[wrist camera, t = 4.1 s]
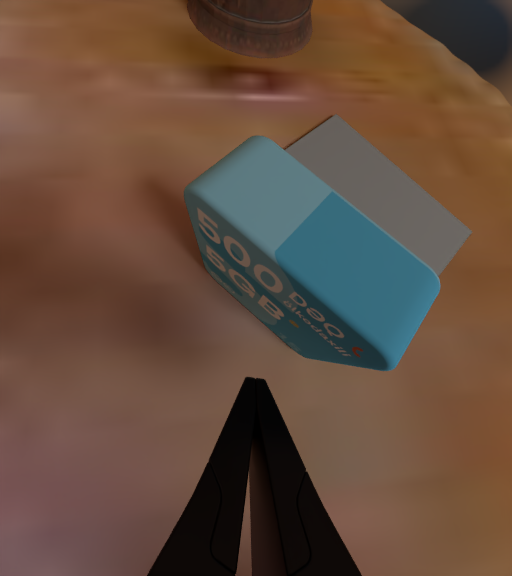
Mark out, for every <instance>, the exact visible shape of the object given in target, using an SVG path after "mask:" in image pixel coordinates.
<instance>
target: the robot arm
mask: <svg viewBox="0 0 512 576" xmlns="http://www.w3.org/2000/svg"><path fill="white" fill-rule="evenodd" d="M305 471H306V468H305V466H304V464H303V461H302V459H301V457H300V455H299V453H298V450H297V448H296V446H295V444H294V442H293V440H292V437H291V435H290V433H289V431H288V429H287V426H286V424H285V422H284V420H283V418H282V415H281V413H280V411H279V409H278V407H277V404H276V402H275V400H274V398H273V396H272V393H271V391H270V389H269V387H268V385H267V383H266V381H265V380H264V379H260V378H256V379H255V378H252V377H246V378H245V380H244V382H243V384H242V386H241V389H240V391H239V393H238V395H237V398H236V400H235V402H234V404H233V407H232V409H231V411H230V413H229V416H228V418H227V420H226V422H225V425H224V427H223V429H222V431H221V434H220V436H219V438H218V440H217V443H216V445H215V447H214V449H213V452H212V454H211V456H210V458H209V462H208V463H207V465H206V467H205V469H204V472H203V474H202V476H201V478H200V480H199V482H198V484H197V486H196V489H195V491H194V493H193V495H192V497H191V498H190V500H189V502H188V504H187V506H186V508H185V510H184V511H183V513H182V515H181V517H180V519H179V520H178V522H177V524H176V526H175V527H174V529H173V531H172V533H171V534H170V536H169V538H168V540H167V541H166V543H165V545H164V547H163V548H162V550H161V552H160V554H159V555H158V557H157V559H156V561H155V562H154V564H153V566H152V568H151V569H150V571H149V573H148V575H147V576H235V574H236V570H237V562H238V554H239V546H240V538H241V529H242V521H243V513H244V505H245V497H246V488H247V480H248V472H249V482H250V519H251V556H252V576H362V575H361V573H360V571H359V569H358V568H357V566H356V564H355V562H354V560H353V559H352V557H351V555H350V553H349V551H348V550H347V548H346V546H345V544H344V542H343V541H342V539H341V537H340V535H339V534H338V532H337V530H336V528H335V526H334V524H333V523H332V521H331V519H330V517H329V515H328V513H327V511H326V510H325V508H324V506H323V504H322V502H321V500H320V498H319V496H318V494H317V492H316V489H315V487H314V485H313V483H312V481H311V479H310V477H309V474H308V472H307V471H306V472H305Z"/></svg>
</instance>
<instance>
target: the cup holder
mask: <svg viewBox="0 0 512 576" xmlns="http://www.w3.org/2000/svg"><path fill="white" fill-rule="evenodd" d="M312 2H313V1H312V0H188V4H187V8H188V12H189V16H190V19H191V20H192V22H193V23H194V25H195V26H196V28H197V29H198V30H199V31H200V32H201V33H202V34H203V35H205V36H206V37H207V38H208V39H209V40H210V41H212V42H214V43H216V44H217V45H219V46H221V47H223V48H224V49H227V50H230V51H232V52H235V53H238V54H241V55H245V56H251V57H257V58H278V57H283V56H287V55H291V54H293V53H295V52H297V51H299V50H301V49H302V48H303V47H304V46H305V45H306V44H307V43H308V42H309V40H310V37H311V34H312V23H311V13H310V10H311V6H312Z"/></svg>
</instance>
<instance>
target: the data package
mask: <svg viewBox="0 0 512 576" xmlns="http://www.w3.org/2000/svg"><path fill="white" fill-rule="evenodd" d="M184 199H185V203H186V206H187V210H188V213H189V216H190V220H191V223H192V226H193V229H194V233H195V236H196V239H197V243H198V246H199V249H200V253H201V256H202V259H203V263H204V266H205V268H206V270H207V271H208V273H209V274H210V275H211V276H212V277H213V278H214V279H215V280H216V281H217V282H218V283H219V284H220V285H221V286H222V287H223V288H225V289H226V290H227V291H228V292H229V293H230V294H231V295H232V296H234V297H235V298H236V299H237V300H238V301H239V302H240V303H241V304H242V305H244V306H245V307H246V308H247V309H248V310H249V311H250V312H251V313H253V314H254V315H255V316H256V317H257V318H258V319H259V320H260V321H261V322H263V323H264V324H265V325H266V326H267V327H268V328H269V329H270V330H271V331H273V332H274V333H275V334H276V335H277V336H278V337H279V338H280V339H282V340H283V341H284V342H285V343H286V344H287V345H288V346H289V347H291V348H292V349H293V350H294V351H296V352H297V353H298V354H300V355H302V356H303V357H305V358H309V359H315V360H321V361H327V362H333V363H339V364H345V365H351V366H356V367H362V368H368V369H374V370H380V371H389V370H392V369H394V368H395V367H396V366H397V364H398V363H399V361H400V359H401V357H402V356H403V354H404V352H405V350H406V349H407V347H408V345H409V344H410V342H411V340H412V338H413V337H414V335H415V333H416V331H417V330H418V328H419V326H420V324H421V323H422V321H423V319H424V317H425V316H426V314H427V312H428V311H429V309H430V307H431V305H432V304H433V302H434V300H435V298H436V297H437V295H438V293H439V291H440V281H439V278H438V276H437V274H436V273H435V271H434V270H433V269H432V268H431V267H430V266H429V265H427V264H426V263H425V262H424V261H422V260H421V259H420V258H419V257H417V256H416V255H415V254H414V253H412V252H411V251H410V250H409V249H407V248H406V247H405V246H404V245H402V244H401V243H400V242H399V241H397V240H396V239H395V238H394V237H392V236H391V235H390V234H389V233H387V232H386V231H385V230H384V229H382V228H381V227H380V226H379V225H377V224H376V223H375V222H374V221H372V220H371V219H370V218H369V217H367V216H366V215H365V214H364V213H362V212H361V211H360V210H359V209H357V208H356V207H355V206H354V205H352V204H351V203H350V202H349V201H347V200H346V199H345V198H344V197H342V196H341V195H340V194H339V193H337V192H336V191H335V190H334V189H332V188H331V187H330V186H329V185H327V184H326V183H325V182H324V181H322V180H321V179H320V178H319V177H317V176H316V175H315V174H314V173H312V172H311V171H310V170H309V169H307V168H306V167H305V166H304V165H302V164H301V163H300V162H298V161H297V160H296V159H295V158H293V157H292V156H291V155H290V154H288V153H287V152H286V151H285V150H283V149H282V148H281V147H280V146H278V145H277V144H276V143H275V142H273V141H272V140H271V139H269V138H267V137H264V136H252V137H250V138H248V139H247V140H246V141H244V142H243V143H242V144H241V145H239V146H238V147H237V148H235V149H234V150H233V151H231V152H230V153H229V154H228V155H226V156H225V157H224V158H222V159H221V160H220V161H218V162H217V163H216V164H215V165H213V166H212V167H211V168H209V169H208V170H207V171H205V172H204V173H203V174H201V175H200V176H199V177H198V178H196V179H195V180H194V181H192V182H191V183H190V184H188V185H187V186H186V188H185V190H184Z"/></svg>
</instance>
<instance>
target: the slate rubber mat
mask: <svg viewBox="0 0 512 576" xmlns="http://www.w3.org/2000/svg"><path fill="white" fill-rule="evenodd" d="M285 151H286V152H287V153H288V154H290V155H291V156H292V157H293V158H295V159H296V160H297V161H298V162H300V163H301V164H302V165H304V166H305V167H306V168H307V169H309V170H310V171H311V172H312V173H314V174H315V175H316V176H317V177H319V178H320V179H321V180H322V181H324V182H325V183H326V184H327V185H329V186H330V187H331V188H332V189H334V190H335V191H336V192H337V193H339V194H340V195H341V196H342V197H344V198H345V199H346V200H347V201H349V202H350V203H351V204H352V205H354V206H355V207H356V208H357V209H359V210H360V211H361V212H362V213H364V214H365V215H366V216H367V217H369V218H370V219H371V220H372V221H374V222H375V223H376V224H377V225H379V226H380V227H381V228H382V229H384V230H385V231H386V232H387V233H389V234H390V235H391V236H392V237H394V238H395V239H396V240H397V241H399V242H400V243H401V244H402V245H404V246H405V247H406V248H407V249H409V250H410V251H411V252H412V253H414V254H415V255H416V256H417V257H419V258H420V259H421V260H422V261H424V262H425V263H426V264H427V265H429V266H430V267H431V268H432V269H433V270H434V271H435V273H436V274H437V276H439V275H440V274H441V272H442V271H443V270H444V268H445V267H446V266H447V264H448V263H449V262H450V260H451V259H452V258H453V256H454V255H455V254H456V253H457V251H458V250H459V249H460V247H461V246H462V245H463V243H464V242H465V241H466V239H467V238H468V237H469V235H470V234H471V233H472V231H471V230H470V229H469V228H468V227H466V226H465V225H464V224H463V223H462V222H461V221H459V220H458V219H457V218H456V217H455V216H454V215H452V214H451V213H450V212H449V211H448V210H447V209H446V208H444V207H443V206H442V205H441V204H440V203H439V202H437V201H436V200H435V199H434V198H433V197H432V196H430V195H429V194H428V193H427V192H426V191H425V190H424V189H422V188H421V187H420V186H419V185H418V184H417V183H415V182H414V181H413V180H412V179H411V178H410V177H409V176H407V175H406V174H405V173H404V172H403V171H402V170H400V169H399V168H398V167H397V166H396V165H395V164H393V163H392V162H391V161H390V160H389V159H388V158H387V157H385V156H384V155H383V154H382V153H381V152H380V151H378V150H377V149H376V148H375V147H374V146H373V145H371V144H370V143H369V142H368V141H367V140H366V139H365V138H363V137H362V136H361V135H360V134H359V133H358V132H356V131H355V130H354V129H353V128H352V127H351V126H350V125H348V124H347V123H346V122H345V121H344V120H343V119H341V118H340V117H339V116H338V115H337V114H336V115H334V116H333V117H331V118H330V119H329V120H327V121H326V122H324V123H323V124H321V125H320V126H318V127H317V128H316V129H314V130H313V131H311V132H310V133H308V134H307V135H306V136H304V137H303V138H301V139H300V140H298V141H297V142H295V143H294V144H293V145H291V146H290V147H288V148H287V149H285Z"/></svg>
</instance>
